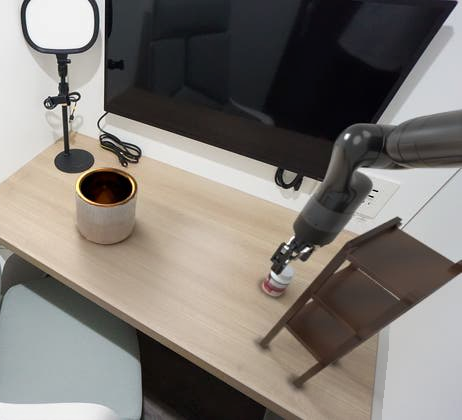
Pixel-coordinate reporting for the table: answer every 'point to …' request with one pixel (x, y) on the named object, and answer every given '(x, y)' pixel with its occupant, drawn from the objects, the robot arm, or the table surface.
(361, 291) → the rack
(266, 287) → the pill bottle
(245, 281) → the table surface
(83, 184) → the planter
